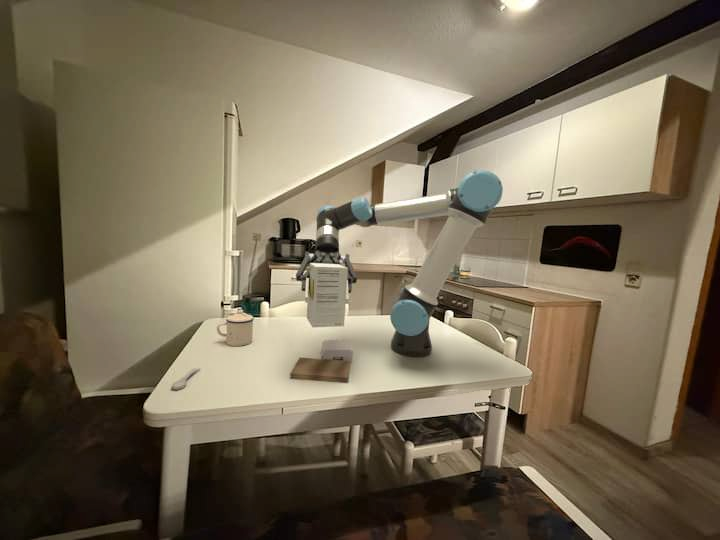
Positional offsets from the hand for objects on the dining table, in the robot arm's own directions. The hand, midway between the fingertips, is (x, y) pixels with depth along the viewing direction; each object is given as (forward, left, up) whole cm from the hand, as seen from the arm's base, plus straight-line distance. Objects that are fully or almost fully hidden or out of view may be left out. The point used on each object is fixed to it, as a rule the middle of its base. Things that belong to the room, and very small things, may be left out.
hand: (326, 300), depth 81 cm
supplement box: (+1, -3, -7) cm, 8 cm away
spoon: (+35, +7, -23) cm, 42 cm away
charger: (-2, -17, -22) cm, 28 cm away
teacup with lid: (+35, -21, -22) cm, 46 cm away
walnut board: (+1, -3, -22) cm, 22 cm away
